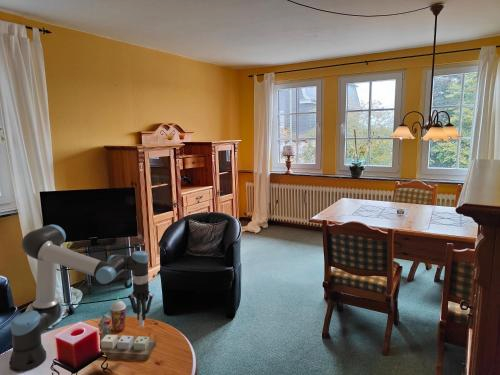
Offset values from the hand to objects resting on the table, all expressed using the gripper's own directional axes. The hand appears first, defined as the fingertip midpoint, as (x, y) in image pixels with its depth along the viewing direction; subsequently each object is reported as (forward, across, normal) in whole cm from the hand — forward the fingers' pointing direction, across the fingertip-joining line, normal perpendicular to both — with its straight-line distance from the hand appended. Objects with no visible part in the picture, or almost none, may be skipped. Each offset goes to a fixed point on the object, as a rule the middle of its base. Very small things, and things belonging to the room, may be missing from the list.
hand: (141, 325), depth 174 cm
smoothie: (+14, -21, +19) cm, 32 cm away
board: (+14, -9, 0) cm, 17 cm away
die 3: (+12, 0, 0) cm, 12 cm away
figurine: (+14, -24, +10) cm, 30 cm away
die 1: (+12, -17, 0) cm, 21 cm away
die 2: (+12, -9, 0) cm, 15 cm away
